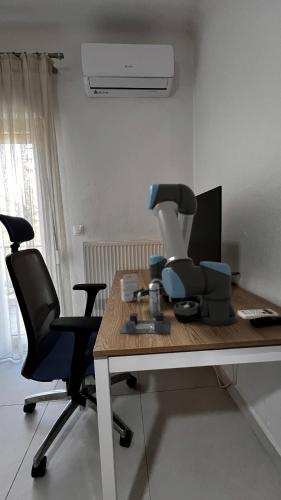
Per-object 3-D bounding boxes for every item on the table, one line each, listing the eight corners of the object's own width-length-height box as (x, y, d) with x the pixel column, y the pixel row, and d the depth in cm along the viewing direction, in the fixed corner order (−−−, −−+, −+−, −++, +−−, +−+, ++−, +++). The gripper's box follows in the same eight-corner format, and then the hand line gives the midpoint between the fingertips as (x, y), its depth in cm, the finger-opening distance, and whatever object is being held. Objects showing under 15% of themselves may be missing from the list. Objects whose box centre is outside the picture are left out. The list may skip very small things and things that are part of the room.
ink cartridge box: (135, 298, 136) (134, 272, 135) (139, 300, 132) (137, 273, 131) (121, 300, 133) (119, 273, 132) (124, 302, 129) (122, 275, 128)
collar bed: (169, 321, 98) (168, 312, 98) (169, 333, 86) (169, 324, 86) (125, 321, 100) (125, 313, 100) (119, 333, 88) (119, 324, 88)
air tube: (160, 313, 108) (159, 282, 107) (160, 317, 103) (158, 284, 102) (150, 313, 108) (149, 282, 107) (149, 317, 104) (148, 285, 103)
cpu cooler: (202, 306, 95) (177, 310, 94) (204, 320, 96) (179, 324, 95) (193, 299, 106) (170, 303, 105) (195, 311, 106) (172, 316, 105)
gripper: (181, 294, 124) (183, 306, 103) (132, 295, 127) (125, 307, 106) (180, 279, 123) (183, 289, 102) (132, 280, 126) (124, 290, 105)
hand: (154, 298), depth 104 cm, fingers open, 13 cm apart
